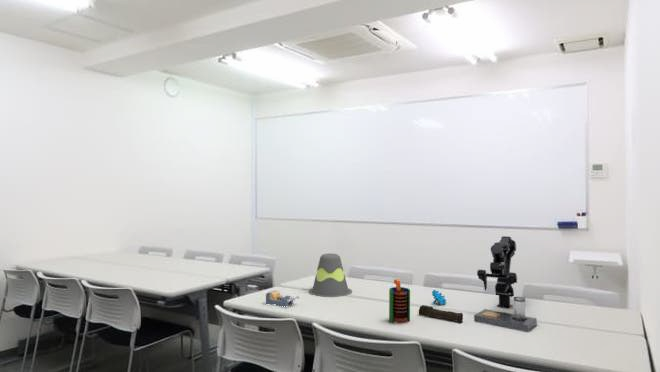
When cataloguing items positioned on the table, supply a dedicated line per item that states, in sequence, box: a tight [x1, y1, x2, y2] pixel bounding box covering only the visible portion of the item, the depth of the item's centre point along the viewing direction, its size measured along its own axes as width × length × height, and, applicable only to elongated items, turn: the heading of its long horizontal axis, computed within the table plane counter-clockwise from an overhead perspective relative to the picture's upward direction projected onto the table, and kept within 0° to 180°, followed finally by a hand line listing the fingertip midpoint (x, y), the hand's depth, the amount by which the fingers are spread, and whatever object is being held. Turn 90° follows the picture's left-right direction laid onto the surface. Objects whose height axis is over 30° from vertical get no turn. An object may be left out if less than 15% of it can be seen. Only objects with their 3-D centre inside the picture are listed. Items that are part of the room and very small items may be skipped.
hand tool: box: [418, 304, 464, 324], centre depth 217 cm, size 23×5×6 cm, turn 52°
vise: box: [265, 290, 300, 308], centre depth 244 cm, size 18×10×7 cm, turn 59°
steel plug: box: [513, 296, 526, 321], centre depth 205 cm, size 5×5×13 cm
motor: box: [388, 278, 411, 324], centre depth 213 cm, size 10×9×20 cm
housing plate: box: [473, 308, 538, 333], centre depth 208 cm, size 14×25×3 cm, turn 49°
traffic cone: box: [308, 253, 353, 298], centre depth 275 cm, size 28×28×24 cm
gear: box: [431, 289, 447, 306], centre depth 245 cm, size 11×6×10 cm
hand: (494, 290), depth 215 cm, fingers open, 9 cm apart
